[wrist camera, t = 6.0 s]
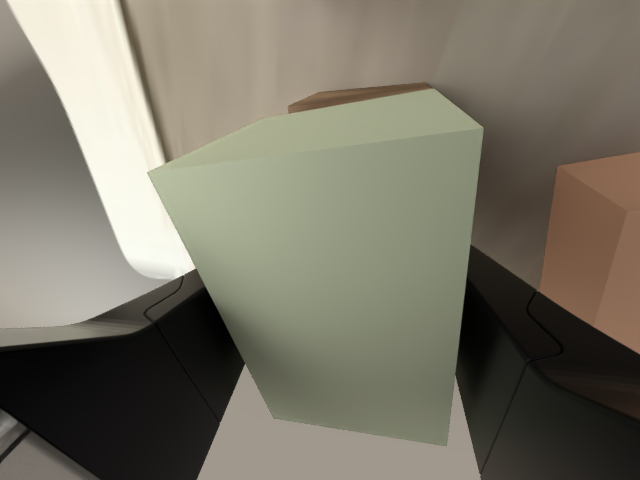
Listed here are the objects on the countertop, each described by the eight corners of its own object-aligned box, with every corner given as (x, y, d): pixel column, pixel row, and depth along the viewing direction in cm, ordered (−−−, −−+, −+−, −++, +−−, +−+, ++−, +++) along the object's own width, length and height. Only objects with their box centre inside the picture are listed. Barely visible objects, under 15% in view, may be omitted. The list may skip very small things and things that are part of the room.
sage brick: (433, 88, 7) (484, 127, 3) (428, 306, 11) (446, 446, 7) (262, 118, 9) (147, 172, 5) (312, 303, 13) (273, 418, 9)
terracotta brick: (698, 140, 12) (859, 184, 8) (644, 283, 16) (733, 363, 12) (555, 164, 13) (627, 211, 9) (538, 288, 17) (583, 360, 13)
